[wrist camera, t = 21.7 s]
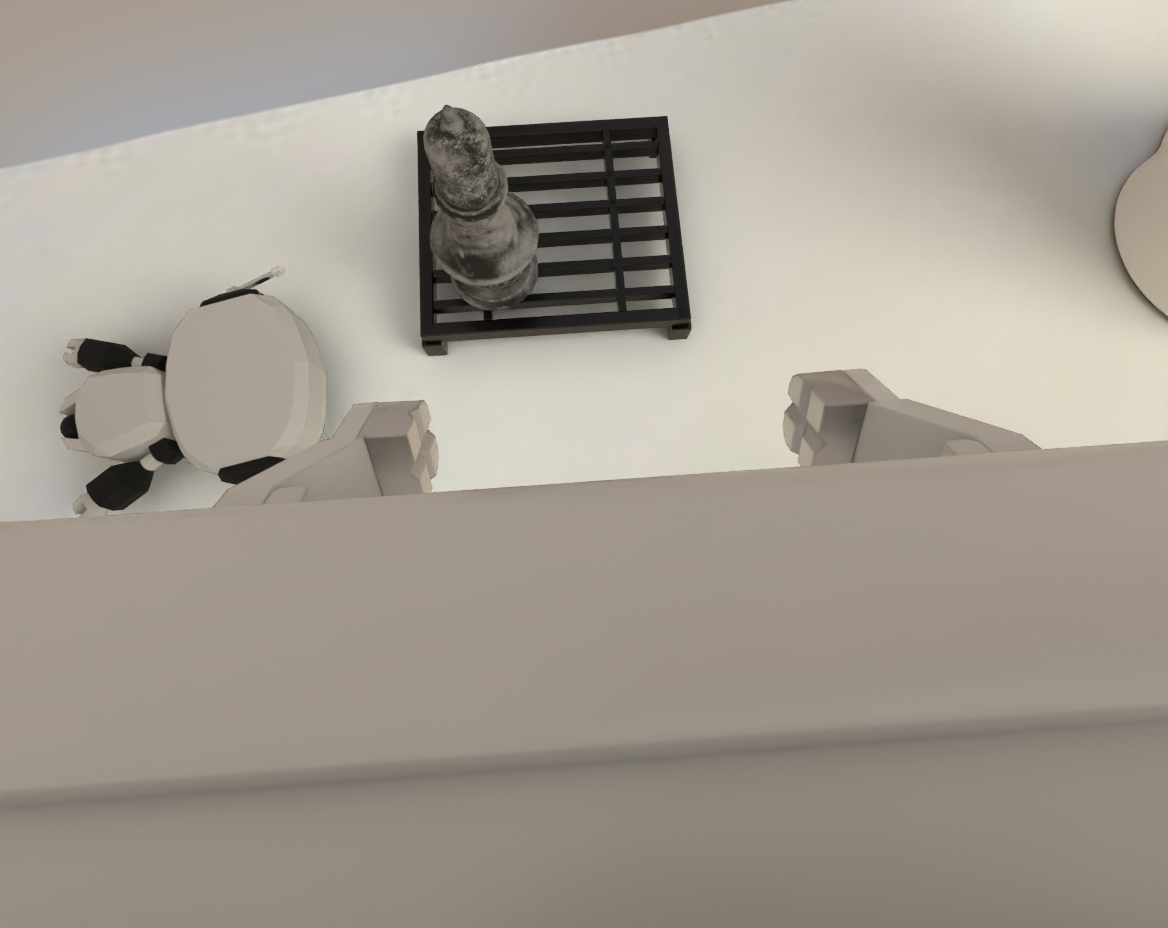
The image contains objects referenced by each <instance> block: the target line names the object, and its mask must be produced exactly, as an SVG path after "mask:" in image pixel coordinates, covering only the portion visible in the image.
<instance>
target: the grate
mask: <svg viewBox="0 0 1168 928" xmlns="http://www.w3.org/2000/svg"><path fill="white" fill-rule="evenodd" d="M486 129H487V131H488V133H489V136H490V141H491V146H492V148H508V147H524V146H541V145H558V144H574V143H591V142H602V144H592V145H575V146H559V147H542V148H526V149H509V150H493V155H494V160H495V162H497V163H498V164H499V165H513V164H530V163H546V162H563V161H579V160H595V159H604V169H605V172H590V173H574V174H558V175H541V176H525V177H509V178H507V183H508V192H523V191H539V190H556V189H572V188H588V187H604V186H606V191H607V200H599V201H583V202H566V203H550V204H534V205H528V207H529V208H530V209H531V210H532V212H533V214H534V217H535V219H543V218H559V217H575V216H591V215H606V214H609V224H610V229H601V230H585V231H569V232H553V233H539V238H538V244H537V248H541V247H556V246H572V245H588V244H604V243H611V246H612V257H613V259H599V260H583V261H568V262H552V263H538V276H537V277H547V276H563V275H578V274H594V273H609V272H614V280H615V289H607V290H591V291H576V292H560V293H545V294H530V295H528V296H527V297H526V298H525V299H524V300H523V301H521V302H520V303H518V304H517V305H515V306H513V307H510V308H507V309H519V308H535V307H550V306H565V305H581V304H596V303H611V302H617V312H602V313H587V314H572V315H557V316H541V317H526V318H511V319H496V320H494V312H493V311H490V310H482V309H479V308H476V307H474V306H471V305H470V304H468V303H467V302H466V301H464V300H463V299H452V300H437V285H436V283H437V284H439V283H452V281H451V276H450V275H449V274H447V273H446V272H445V271H444V270H436V260H435V257H434V255H433V252H432V250H431V246H430V230H431V226H432V222H433V220H434V218H435V216H436V214H437V212H438V211H435V199H434V196H433V191H432V183H433V178H434V173H433V171H432V168H431V165H430V163H429V160H428V157H427V155H426V152H425V149H424V138H423V136H424V131H417V145H418V206H419V267H420V333H421V338H422V347H423V349H424V350H425V352H426V353H427V354H428V356H435V355H447V341H463V340H478V339H493V338H508V337H523V336H538V335H553V334H568V333H583V332H599V331H614V330H629V329H644V328H659V327H667V330H668V339H669V340H675V339H687V337H688V335H689V333H690V331H691V320H690V319H691V314H690V306H689V297H688V289H687V280H686V271H685V263H684V254H683V246H682V237H681V229H680V220H679V212H678V203H677V195H676V186H675V178H674V169H673V160H672V152H671V143H670V135H669V126H668V118H667V116H660V117H644V118H627V119H610V120H594V121H577V122H560V123H543V124H527V125H510V126H493V127H486ZM640 139H648V141H641V142H625V143H611V141H624V140H640ZM645 156H649V158H657V166H658V168H655V169H639V170H623V171H614V168H613V158H628V157H645ZM653 183H659V184H660V193H661V197H647V198H631V199H616V189H615V186H620V185H637V184H653ZM654 211H663V220H664V226H648V227H632V228H619V221H618V214H622V213H638V212H654ZM665 239H666V247H667V255H661V256H646V257H630V258H622V253H621V242H635V241H651V240H665ZM656 269H669V274H670V283H671V285H668V286H653V287H637V288H625V285H624V274H623V272H625V271H641V270H656ZM657 299H672V301H673V308H663V309H648V310H633V311H627V307H626V302H627V301H642V300H657ZM473 311H483V313H484V320H480V321H465V322H450V323H437V314H443V313H458V312H473Z"/></svg>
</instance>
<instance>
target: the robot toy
mask: <svg viewBox="0 0 1168 928" xmlns="http://www.w3.org/2000/svg"><path fill="white" fill-rule="evenodd" d="M285 268H286V267H278V266H277V267H275V268H273V269H271V271H270V272H268V273H266V274H264V275H262V276H260V277H258V278H256V279H254V280H252V281H250V282H248V283H246V284H244V285H242V286H240V287H238V288H237V287H235V286H234V287H232V288H230V289H228V290H227V293H224V294H220V295H217V296H215V297H213V298H210V299H208V300H205V301H203V302H202V303H201V305H200V307H198V308H195V309H191V310H189V312H188V313H187V314H186V315H185V317H184V318H183V319H182V320H181V322H180V323H179V325H178V326H177V328H176V330H175V331H174V334H173V336H172V339H171V343H170V346H169V351H168V356H162V355H157V354H150V353H147V355H146V356H145V357H144V358H141V357H140V356H139V355H137V354H136V353H135V352H134V351H132V350H131V349H130V348H128V347H127V346H126V345H122V344H116V343H111V342H105V341H99V340H93V339H88V338H86V339H71V340H70V341H69V343H68V345H67V348H70V349H72V350H74V353H73V354H68V353H66V352H65V353H64V356H63V360H64V361H65V362H66V363H67V364H68V365H71V366H73V367H75V368H85V369H87V370H88V371H93V372H99V373H97V374H95V375H93V376H91V377H89V378H88V379H87V380H86V382H85V383H84V385H83V387H82V388H80V389H79V390H77V391H76V392H74V393H73V394H71V395H70V396H68V397H66V398H65V399H64V402H63V405H62V407H61V410H60V412H59V413H62V414H65V415H69V416H67V417H66V418H64V420H63V421H62V423H61V426H60V429H61V433H62V434H63V436H64V437H65V438H61V439H62V440H63V442H64V443H65V445H66V446H67V448H68V449H72V450H77V451H82V452H86V453H91V454H93V455H94V456H98V457H103V458H108V459H113V460H118V461H123V462H128V463H123V464H118V465H114V466H111V467H109V468H108V469H107V470H105V471H104V472H103V473H101V474H100V475H99V476H97V477H96V478H95V479H93V480H92V481H91V482H90V483H88V484H87V485H86V488H87V494H83V495H80V497H79V498H78V499H77V500H76V501H75V503H74V504H73V510H74V512H75V514H82V515H81V516H80V517H79V518H81V517H95V516H107V514H108V512H109V510H112V511H115V510H124V509H125V508H126V507H128V506H129V505H130V504H132V503H133V502H134V501H136V500H137V499H138V498H140V497H141V496H142V495H143V494H145V493H146V492H147V491H148V490H149V487H150V484H151V481H152V478H153V473H154V470H156V469H157V468H158V467H160V466H161V465H162V464H163V463H164V464H176V463H177V462H179V461H180V460H181V459H183V458H184V457H185V458H186V459H187V460H188V461H189V462H190V463H191V464H192V465H193V466H194V467H195V468H196V469H197V470H202V471H206V472H210V473H215V474H218V476H219V477H220V479H221V481H222V482H227V483H231V484H236V485H238V484H239V483H241V482H243V481H245V480H247V479H249V478H251V477H253V476H255V475H257V474H259V473H261V472H263V471H265V470H267V469H268V468H270V467H272V466H274V465H276V464H278V463H280V462H282V461H284V460H286V459H288V458H290V457H292V456H294V455H296V454H297V453H299V452H301V451H303V450H305V449H307V448H309V447H311V446H313V445H315V444H317V443H318V441H319V439H320V437H321V435H322V432H323V428H324V422H325V414H326V370H325V367H324V365H323V362H322V359H321V356H320V353H319V350H318V347H317V344H316V341H315V340H314V338H313V336H312V334H311V332H310V330H309V328H308V326H307V325H306V323H305V322H304V321H303V320H302V319H301V318H300V317H299V316H297V315H296V314H295V313H294V312H293V311H292V310H290V309H289V308H288V307H286V306H285V305H284V304H282V303H281V302H280V301H278V300H277V299H276V298H275V297H273V296H264V295H263V294H262V293H260V292H259V291H258V290H256V289H251V288H253V287H255V286H257V285H259V284H261V283H263V282H265V281H267V280H269V279H271V278H273V277H275V276H277V277H278V276H280V275H282V274H284V271H285Z"/></svg>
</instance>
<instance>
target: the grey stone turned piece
mask: <svg viewBox="0 0 1168 928" xmlns="http://www.w3.org/2000/svg"><path fill="white" fill-rule="evenodd" d="M423 138H424V149H425V152H426V155H427V157H428V160H429V163H430V165H431V168H432V171H433V173H434V178H433V183H432V191H433V196H434V199H435V201H436V204H437V205H438V207H439V208H440V209H439V210H438V212H437V214H436V216H435V218H434V220H433V222H432V226H431V230H430V246H431V250H432V252H433V255H434V257H435V260H436V261H437V263H438V264H439V265H440V267H441V268H442V269H443V270H444V271H445V272H446V273H447V274H449V275H450V276H451V281H452V283H453V286H454V288H455V290H456V292H457V293H458V294H459V296H460V297H461V298H462V299H463V300H464V301H466V302H467V303H468V304H470V305H471V306H474V307H476V308H479V309H482V310H490V311H496V310H505V309H507V308H510V307H513V306H515V305H517V304H518V303H520V302H521V301H523V300H524V299H525V298H526V297H527V296H528V295H529V293H530V292H531V291H532V290H533V287H534V285H535V283H536V281H537V276H538V263H537V258H536V255H535V252H536V250H537V244H538V238H539V233H538V225H537V221H536V219H535V217H534V214H533V212H532V210H531V209H530V208H529V207H528V205H527V204H526V203H525V202H524V201H523V200H522V199H520V198H519V197H518V196H516V195H515V194H513V193H511V192H508V183H507V177H506V175H505V173H504V171H503V169H502V168H501V167H500V165H499V164H498V163H497V162H495V160H494V155H493V150H492V146H491V141H490V136H489V133H488V131H487V129H486V127H485V125H484V123H483V122H482V121H481V120H480V118H479V117H477V116H476V115H475V114H473V113H471V112H469V111H467V110H464V109H461V108H453V107H451V106H449V105H445V106H444V107H443V109H442V110H441V111H440V112H438V113H436V114H435V115H434V116H433V117H432V118H431V119H430V121H429V122H428V124H427V126H426V128H425V131H424V136H423Z"/></svg>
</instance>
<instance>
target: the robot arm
mask: <svg viewBox="0 0 1168 928" xmlns="http://www.w3.org/2000/svg"><path fill="white" fill-rule="evenodd" d="M1114 228H1115V237H1116V242H1117V246H1118V250H1119V253H1120V256H1121V258H1122V261H1123V263H1124V265H1125V267H1126V269H1127V271H1128V273H1129V274H1130V276H1131V278H1132V279H1133V281H1134V282H1135V284H1136V285H1137V286H1138V288H1139V289H1140V290H1141V292H1142V293H1143V294H1144V295H1145V296H1146V297H1147V298H1148V299H1149V300H1150V301H1151V303H1152V304H1154V305H1155V306H1156V307H1157V308H1158V309H1159V310H1160V311H1161V312H1163V313H1164V314H1165V315H1166V316H1168V129H1167V131H1166V133H1165V136H1164V138H1163V140H1162V143H1161V146H1160V148H1159V150H1158V151H1157V152H1156V153H1155V154H1154V155H1153V156H1152V157H1150V158H1149V159H1148V160H1147V161H1145V162H1144V163H1143V164H1142V165H1140V166H1139V167H1138V168H1137V169H1136V170H1135V171H1134V172H1133V173H1132V174H1131V175H1130V177H1129V178H1128V179H1127V181H1126V182H1125V184H1124V186H1123V188H1122V190H1121V192H1120V194H1119V197H1118V200H1117V204H1116V209H1115V217H1114ZM788 395H789V396H790V398H791V400H792V401H793V403H792V404H791V405H790V406H789V407H788V408H787V410H786V411H785V413H784V421H783V432H784V438H785V441H786V444H787V446H788V448H789V449H790V451H792V452H794V453H796V454H798V455H799V458H798V463H799V464H800V466H801V467H787V468H773V469H759V470H745V471H730V472H716V473H702V474H688V475H674V476H659V477H645V478H631V479H617V480H603V481H588V482H574V483H560V484H546V485H532V486H518V487H503V488H489V489H475V490H461V491H447V492H432V493H431V490H432V485H431V481H430V480H431V479H432V478H433V477H435V476H436V473H437V469H438V448H437V442H436V438H435V436H434V435H433V434H432V433H431V432H430V431H429V430H428V429H427V428H428V425H429V423H430V420H431V417H430V413H429V410H428V406H427V404H426V402H425V401H424V400H418V401H398V402H380V403H378V402H372V403H362V404H354V405H353V406H352V408H351V409H350V411H349V412H348V414H347V415H346V417H345V418H344V420H343V422H342V423H341V425H340V426H339V428H338V429H337V431H336V432H335V434H334V436H333V437H332V439H328V440H323V441H321V442H319V443H317V444H315V445H313V446H311V447H309V448H307V449H305V450H303V451H301V452H299V453H297V454H296V455H294V456H292V457H290V458H288V459H286V460H284V461H282V462H280V463H278V464H276V465H274V466H272V467H270V468H268V469H267V470H265V471H263V472H261V473H259V474H257V475H255V476H253V477H251V478H249V479H247V480H245V481H243V482H241V483H239V484H238V485H236V486H234V487H232V488H230V489H228V490H226V492H225V493H224V494H223V495H222V497H221V498H220V499H219V500H218V501H217V503H216V504H215V505H214V506H213V508H207V509H193V510H179V511H165V512H151V513H137V514H123V515H109V516H95V517H81V518H66V519H52V520H38V521H13V522H0V928H1168V441H1154V442H1140V443H1126V444H1112V445H1097V446H1083V447H1069V448H1055V449H1041V448H1040V447H1038V446H1037V445H1036V444H1034V443H1033V442H1032V441H1030V440H1029V439H1027V438H1026V437H1025V436H1023V435H1022V434H1019V433H1016V432H1012V431H1009V430H1006V429H1003V428H999V427H996V426H993V425H990V424H987V423H983V422H980V421H977V420H974V419H970V418H967V417H964V416H961V415H957V414H954V413H951V412H948V411H944V410H941V409H938V408H935V407H931V406H928V405H925V404H922V403H918V402H915V401H912V400H909V399H899V398H898V397H897V396H896V395H894V394H893V393H892V392H891V391H890V390H889V389H888V388H886V387H885V386H884V385H883V384H882V383H881V382H880V381H878V380H877V379H876V378H875V377H874V376H873V375H872V374H871V373H869V372H868V371H867V370H866V369H852V370H843V371H842V370H836V371H825V372H814V373H803V374H797V375H794V376H793V377H792V379H791V381H790V384H789V390H788Z"/></svg>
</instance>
